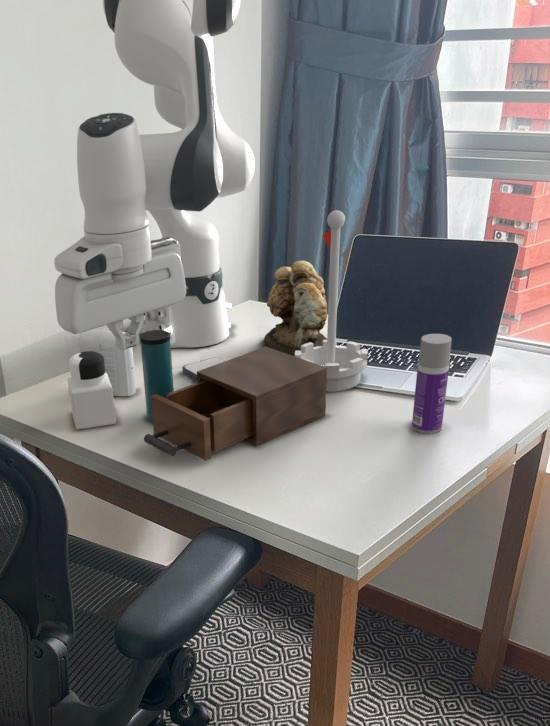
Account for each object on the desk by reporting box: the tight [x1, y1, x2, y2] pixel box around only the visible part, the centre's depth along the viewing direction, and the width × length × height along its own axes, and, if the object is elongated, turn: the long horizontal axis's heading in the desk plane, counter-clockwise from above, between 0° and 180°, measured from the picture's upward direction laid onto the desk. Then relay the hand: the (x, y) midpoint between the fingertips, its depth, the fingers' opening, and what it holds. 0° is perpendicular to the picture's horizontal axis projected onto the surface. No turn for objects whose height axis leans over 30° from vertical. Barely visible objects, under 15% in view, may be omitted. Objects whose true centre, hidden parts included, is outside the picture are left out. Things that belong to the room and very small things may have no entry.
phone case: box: [181, 356, 226, 382], centre depth 159 cm, size 9×2×16 cm
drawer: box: [143, 380, 253, 462], centre depth 135 cm, size 19×14×7 cm
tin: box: [139, 330, 175, 423], centre depth 143 cm, size 5×5×15 cm
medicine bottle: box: [67, 351, 117, 430], centre depth 145 cm, size 7×7×12 cm
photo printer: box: [78, 327, 137, 397], centre depth 155 cm, size 10×4×12 cm, turn 69°
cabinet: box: [196, 345, 327, 447], centre depth 141 cm, size 16×15×9 cm
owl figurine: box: [263, 260, 328, 356], centre depth 166 cm, size 18×12×17 cm, turn 26°
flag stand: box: [295, 209, 369, 392], centre depth 147 cm, size 13×13×30 cm
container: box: [411, 333, 453, 435], centre depth 131 cm, size 5×5×15 cm
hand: (128, 347), depth 121 cm, fingers closed
